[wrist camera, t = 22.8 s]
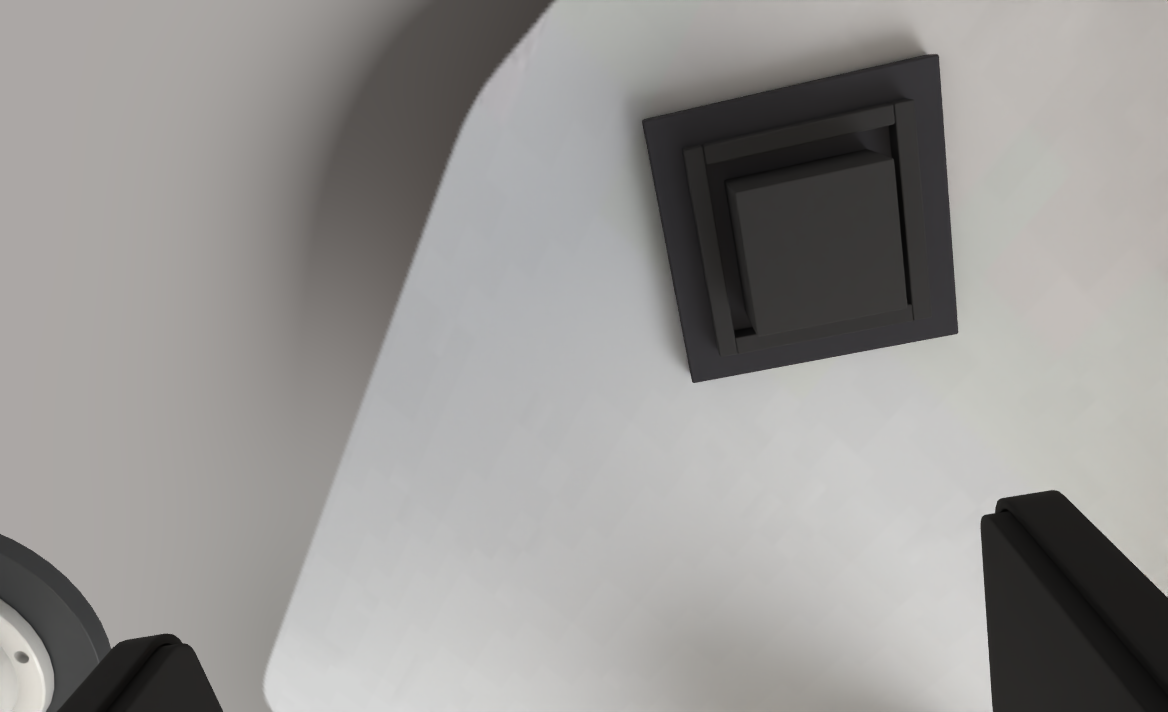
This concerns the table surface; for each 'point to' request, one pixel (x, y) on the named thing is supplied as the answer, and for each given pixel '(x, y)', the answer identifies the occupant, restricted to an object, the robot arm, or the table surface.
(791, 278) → the small pad
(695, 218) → the base pad
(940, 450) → the table surface
